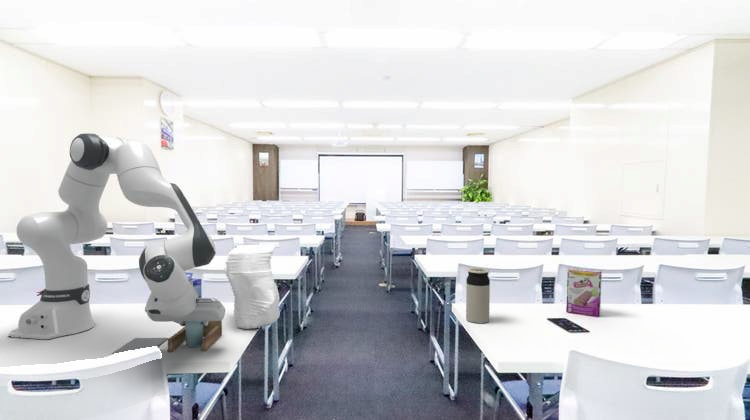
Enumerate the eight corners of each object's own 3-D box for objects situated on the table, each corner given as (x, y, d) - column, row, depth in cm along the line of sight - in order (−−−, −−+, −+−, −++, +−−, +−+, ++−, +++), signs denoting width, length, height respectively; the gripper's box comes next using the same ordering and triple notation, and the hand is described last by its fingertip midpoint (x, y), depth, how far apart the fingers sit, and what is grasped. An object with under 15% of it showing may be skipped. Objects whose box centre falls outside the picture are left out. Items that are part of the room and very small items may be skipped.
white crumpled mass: (286, 310, 154) (285, 244, 153) (275, 335, 128) (274, 254, 127) (229, 312, 153) (228, 244, 152) (206, 337, 126) (205, 255, 125)
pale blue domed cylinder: (182, 347, 117) (182, 313, 117) (192, 338, 124) (192, 306, 124) (199, 347, 117) (199, 313, 117) (208, 338, 125) (208, 306, 124)
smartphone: (569, 332, 130) (545, 318, 145) (569, 334, 130) (545, 319, 145) (591, 332, 130) (565, 317, 145) (591, 333, 130) (565, 319, 145)
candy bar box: (566, 312, 152) (566, 269, 151) (567, 309, 156) (568, 267, 155) (599, 317, 146) (600, 272, 145) (600, 314, 150) (601, 270, 149)
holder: (167, 351, 114) (167, 334, 114) (187, 335, 127) (187, 319, 127) (206, 351, 115) (206, 333, 114) (221, 335, 128) (221, 319, 127)
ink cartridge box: (202, 309, 156) (202, 272, 155) (193, 313, 150) (193, 275, 150) (180, 308, 158) (179, 271, 157) (170, 312, 152) (169, 274, 152)
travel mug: (480, 325, 137) (481, 273, 137) (461, 319, 143) (462, 269, 143) (493, 320, 143) (494, 270, 142) (474, 315, 149) (475, 267, 148)
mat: (106, 357, 110) (106, 356, 110) (135, 339, 124) (135, 338, 124) (144, 357, 110) (144, 355, 110) (168, 338, 124) (168, 337, 124)
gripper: (221, 289, 113) (232, 313, 123) (146, 290, 112) (164, 314, 122) (215, 310, 108) (228, 333, 118) (138, 310, 107) (157, 334, 118)
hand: (195, 323), depth 120 cm, fingers closed on pale blue domed cylinder, 5 cm apart
